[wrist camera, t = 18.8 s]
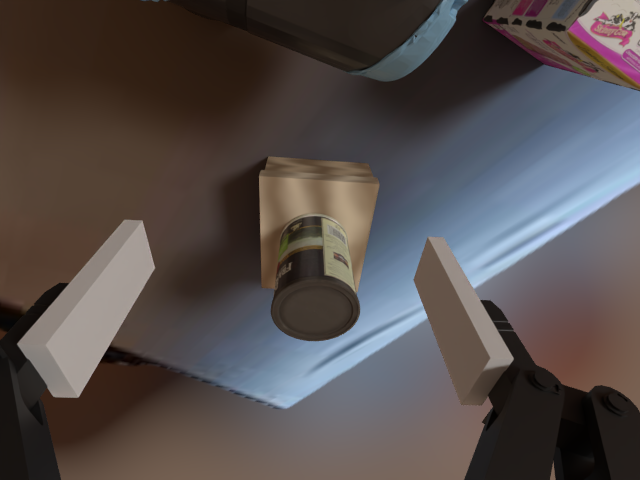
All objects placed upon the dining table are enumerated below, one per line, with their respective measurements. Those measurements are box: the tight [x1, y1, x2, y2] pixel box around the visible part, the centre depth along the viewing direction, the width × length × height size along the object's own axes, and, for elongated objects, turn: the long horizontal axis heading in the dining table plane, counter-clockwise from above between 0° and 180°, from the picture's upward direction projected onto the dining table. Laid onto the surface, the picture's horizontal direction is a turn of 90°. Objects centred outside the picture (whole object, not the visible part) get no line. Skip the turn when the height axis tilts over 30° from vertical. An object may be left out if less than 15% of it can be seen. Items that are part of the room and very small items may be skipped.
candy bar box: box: [483, 0, 640, 91], centre depth 34 cm, size 11×5×16 cm, turn 64°
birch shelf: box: [259, 156, 379, 292], centre depth 52 cm, size 16×20×7 cm
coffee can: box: [271, 213, 360, 341], centre depth 44 cm, size 10×10×14 cm
